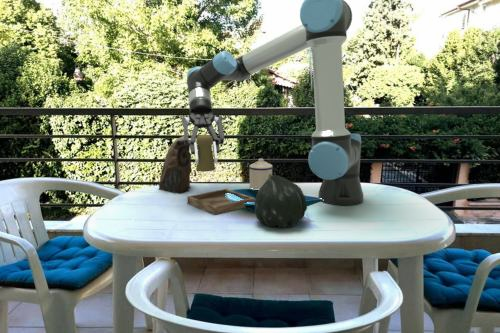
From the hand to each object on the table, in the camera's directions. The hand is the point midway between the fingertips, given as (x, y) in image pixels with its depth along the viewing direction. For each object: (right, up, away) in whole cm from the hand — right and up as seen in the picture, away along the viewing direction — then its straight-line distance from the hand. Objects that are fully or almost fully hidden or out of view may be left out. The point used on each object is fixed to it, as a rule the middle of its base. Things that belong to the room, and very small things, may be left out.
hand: (206, 161), depth 117 cm
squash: (+22, -18, -8) cm, 29 cm away
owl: (-15, -10, +31) cm, 36 cm away
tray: (+4, -14, +10) cm, 18 cm away
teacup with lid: (+18, -10, +32) cm, 38 cm away
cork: (-1, -3, +4) cm, 5 cm away
